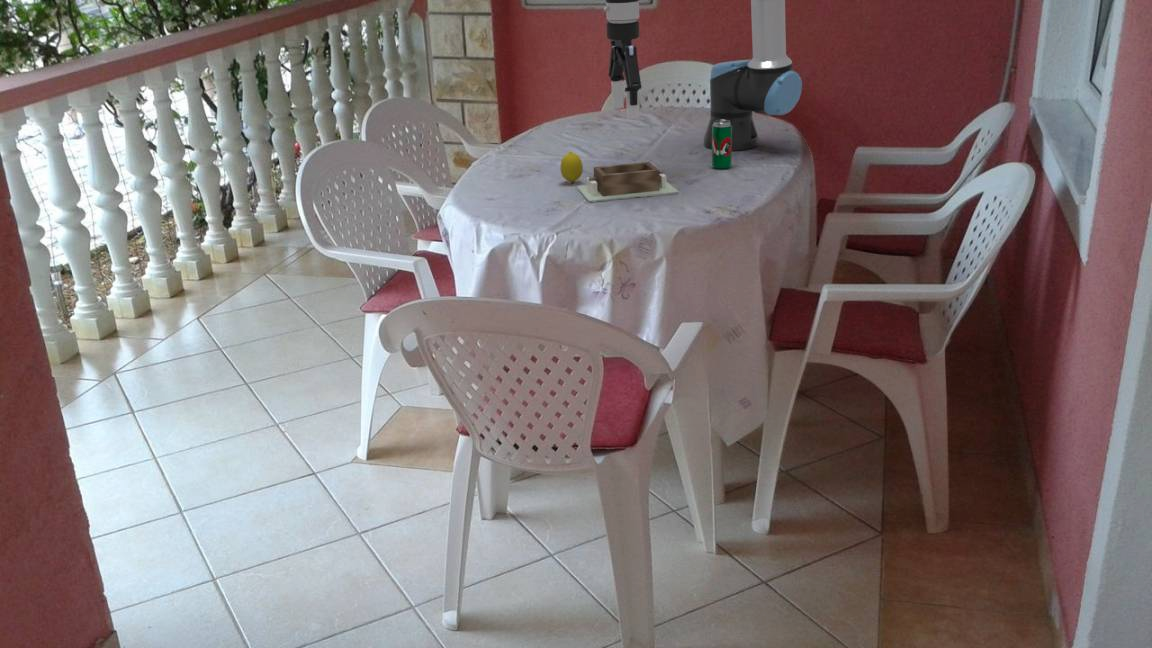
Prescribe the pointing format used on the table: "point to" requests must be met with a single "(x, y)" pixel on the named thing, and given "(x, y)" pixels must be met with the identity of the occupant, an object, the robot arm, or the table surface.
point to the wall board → (593, 194)
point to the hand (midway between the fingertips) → (625, 113)
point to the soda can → (722, 144)
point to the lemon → (571, 167)
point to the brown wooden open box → (626, 178)
